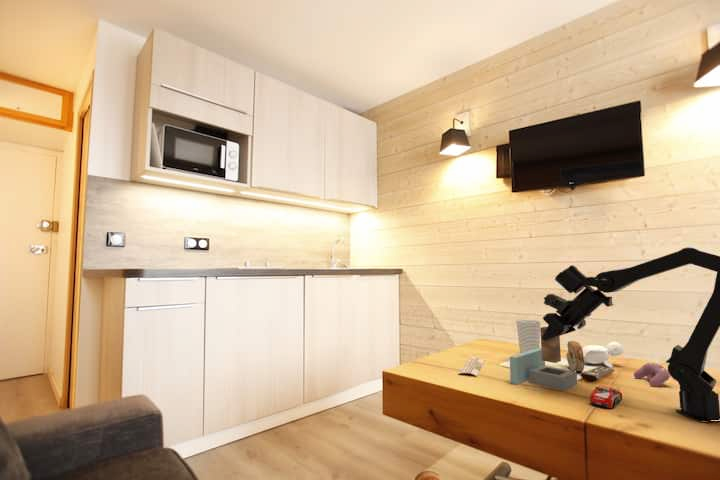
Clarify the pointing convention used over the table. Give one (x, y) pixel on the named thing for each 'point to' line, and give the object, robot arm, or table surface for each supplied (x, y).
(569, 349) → the stone disc
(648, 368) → the video game controller
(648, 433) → the table surface
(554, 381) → the socket block
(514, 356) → the backstop board
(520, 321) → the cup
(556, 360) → the walnut post
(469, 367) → the newspaper
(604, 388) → the race car
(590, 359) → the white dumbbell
